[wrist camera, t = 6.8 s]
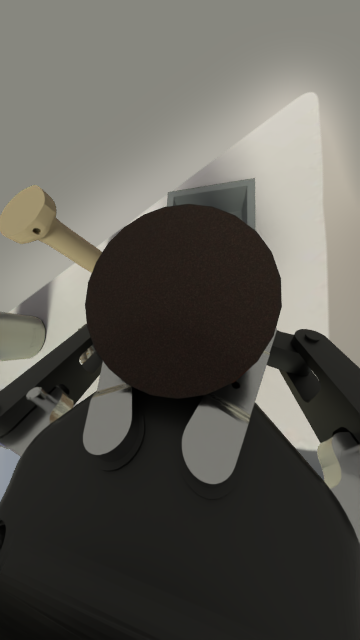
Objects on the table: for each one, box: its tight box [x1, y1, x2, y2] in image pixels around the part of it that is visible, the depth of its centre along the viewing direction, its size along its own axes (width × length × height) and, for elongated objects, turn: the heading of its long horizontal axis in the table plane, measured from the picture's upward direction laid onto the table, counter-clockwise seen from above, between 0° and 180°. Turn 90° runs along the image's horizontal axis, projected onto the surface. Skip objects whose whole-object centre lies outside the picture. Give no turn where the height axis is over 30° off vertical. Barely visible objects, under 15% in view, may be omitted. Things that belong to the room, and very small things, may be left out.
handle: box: [0, 185, 102, 272], centre depth 23 cm, size 5×6×15 cm
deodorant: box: [85, 204, 282, 399], centre depth 12 cm, size 6×6×15 cm
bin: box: [167, 178, 255, 230], centre depth 24 cm, size 13×13×5 cm
